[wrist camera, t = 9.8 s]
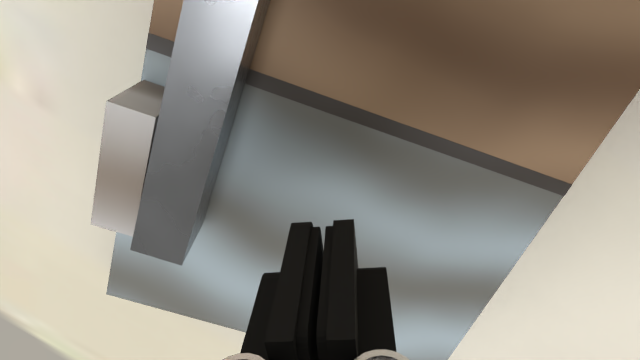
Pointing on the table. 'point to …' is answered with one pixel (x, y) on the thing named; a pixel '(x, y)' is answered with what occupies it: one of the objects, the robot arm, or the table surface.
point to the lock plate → (381, 149)
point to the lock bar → (195, 121)
